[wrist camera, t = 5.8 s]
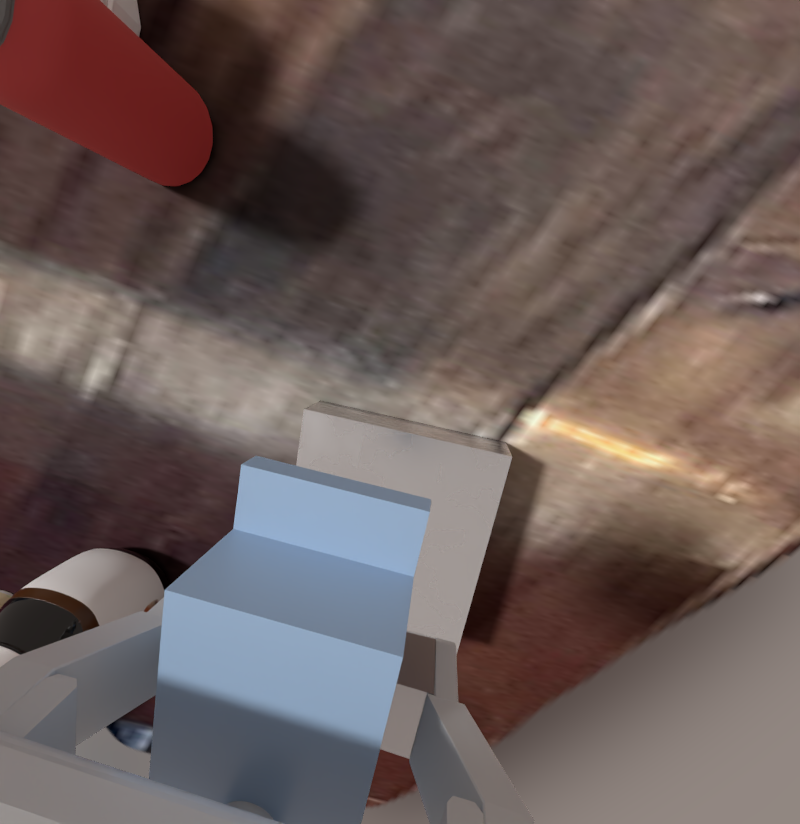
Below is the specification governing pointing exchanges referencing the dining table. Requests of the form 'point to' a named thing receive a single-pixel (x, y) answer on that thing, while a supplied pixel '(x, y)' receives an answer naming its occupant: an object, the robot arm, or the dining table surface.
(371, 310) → the dining table surface
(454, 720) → the robot arm
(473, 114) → the dining table surface
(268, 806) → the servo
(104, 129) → the beer can
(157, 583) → the spread jar
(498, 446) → the plate
